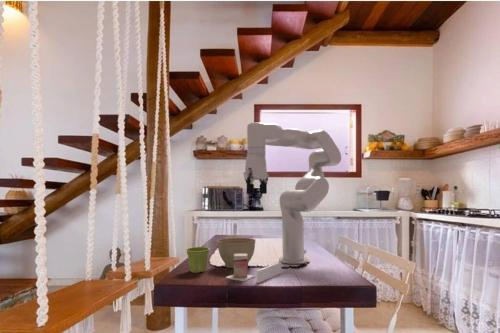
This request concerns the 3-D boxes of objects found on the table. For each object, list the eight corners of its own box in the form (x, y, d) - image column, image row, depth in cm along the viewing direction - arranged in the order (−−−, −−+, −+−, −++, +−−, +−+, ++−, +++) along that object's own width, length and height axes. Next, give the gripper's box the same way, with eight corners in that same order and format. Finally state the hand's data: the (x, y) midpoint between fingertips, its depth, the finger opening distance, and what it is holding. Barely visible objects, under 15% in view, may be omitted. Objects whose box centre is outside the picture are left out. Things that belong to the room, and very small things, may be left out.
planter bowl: (258, 262, 144) (258, 237, 145) (251, 271, 129) (251, 243, 129) (223, 261, 148) (223, 236, 148) (212, 270, 132) (212, 242, 133)
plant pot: (205, 274, 125) (205, 251, 125) (181, 273, 127) (182, 250, 127) (212, 268, 134) (212, 247, 134) (191, 268, 136) (191, 246, 136)
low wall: (279, 272, 127) (279, 262, 127) (281, 272, 126) (281, 262, 126) (256, 282, 113) (256, 270, 114) (259, 282, 113) (258, 271, 113)
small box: (233, 278, 118) (233, 255, 118) (234, 275, 122) (233, 253, 123) (247, 277, 118) (247, 255, 118) (247, 274, 122) (247, 253, 123)
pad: (237, 274, 125) (237, 273, 125) (254, 277, 120) (254, 275, 120) (225, 278, 119) (225, 277, 119) (243, 281, 115) (243, 280, 115)
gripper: (260, 154, 146) (260, 193, 145) (236, 151, 132) (237, 194, 130) (274, 153, 142) (275, 193, 140) (252, 150, 127) (252, 194, 126)
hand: (256, 193), depth 135 cm, fingers open, 9 cm apart
